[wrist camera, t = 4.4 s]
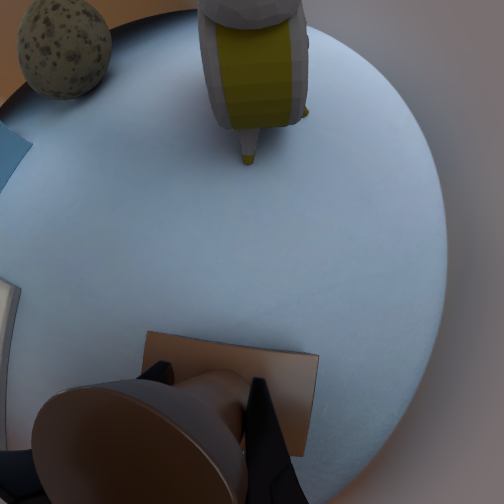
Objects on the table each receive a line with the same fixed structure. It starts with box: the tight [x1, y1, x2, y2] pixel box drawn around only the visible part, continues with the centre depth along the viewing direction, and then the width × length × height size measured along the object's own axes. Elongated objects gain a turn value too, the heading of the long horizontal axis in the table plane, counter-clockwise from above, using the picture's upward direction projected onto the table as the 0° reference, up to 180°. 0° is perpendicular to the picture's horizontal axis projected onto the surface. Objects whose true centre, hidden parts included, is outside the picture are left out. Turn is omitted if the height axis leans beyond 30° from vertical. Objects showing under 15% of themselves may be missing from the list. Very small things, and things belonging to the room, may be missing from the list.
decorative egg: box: [17, 0, 112, 100], centre depth 19 cm, size 11×11×15 cm
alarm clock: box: [198, 0, 309, 164], centre depth 15 cm, size 12×7×15 cm, turn 3°
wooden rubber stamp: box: [31, 331, 319, 504], centre depth 9 cm, size 5×8×14 cm, turn 83°
